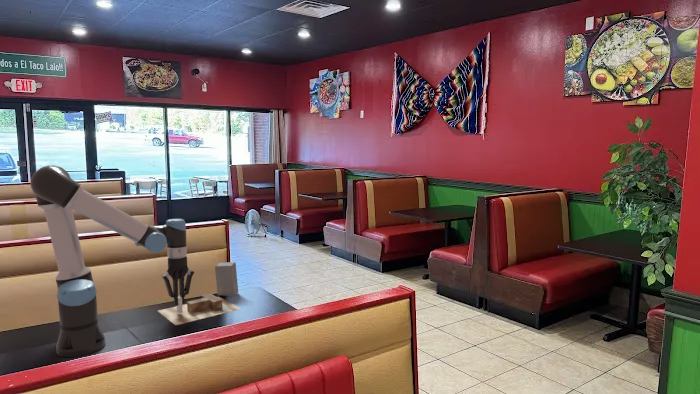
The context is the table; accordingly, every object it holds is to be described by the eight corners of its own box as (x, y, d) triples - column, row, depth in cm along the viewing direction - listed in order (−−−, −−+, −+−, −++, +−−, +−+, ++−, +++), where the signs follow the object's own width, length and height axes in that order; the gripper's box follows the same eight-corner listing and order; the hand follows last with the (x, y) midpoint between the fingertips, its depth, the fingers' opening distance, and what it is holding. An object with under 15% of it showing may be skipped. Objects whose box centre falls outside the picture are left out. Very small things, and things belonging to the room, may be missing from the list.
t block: (194, 315, 195) (194, 306, 195) (184, 308, 204) (183, 299, 204) (222, 309, 203) (222, 300, 202) (211, 302, 212) (210, 293, 212)
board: (175, 328, 185) (175, 325, 185) (157, 313, 202) (157, 310, 202) (241, 311, 203) (241, 308, 203) (219, 299, 220) (219, 296, 220)
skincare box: (238, 293, 228) (237, 261, 226) (233, 298, 221) (232, 265, 219) (221, 293, 229) (220, 261, 227) (216, 298, 221) (214, 265, 220)
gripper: (164, 260, 188) (166, 318, 190) (196, 255, 196) (198, 311, 198) (158, 257, 193) (160, 313, 196) (189, 252, 202) (191, 306, 204)
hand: (179, 312), depth 197 cm, fingers closed
